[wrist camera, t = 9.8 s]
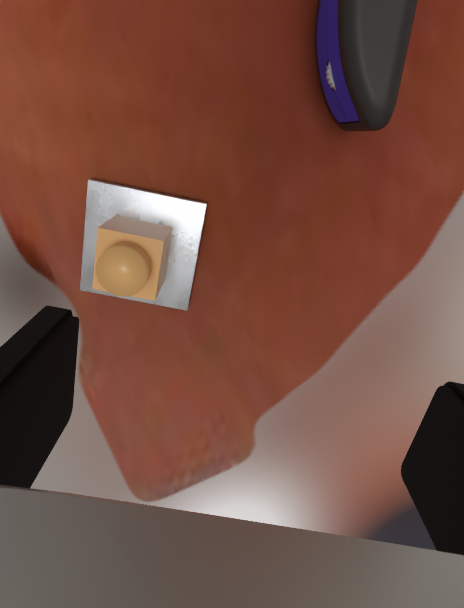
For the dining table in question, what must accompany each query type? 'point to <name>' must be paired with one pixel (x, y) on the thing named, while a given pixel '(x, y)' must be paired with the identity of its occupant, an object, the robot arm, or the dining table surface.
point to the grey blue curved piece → (362, 58)
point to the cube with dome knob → (131, 257)
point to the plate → (154, 209)
